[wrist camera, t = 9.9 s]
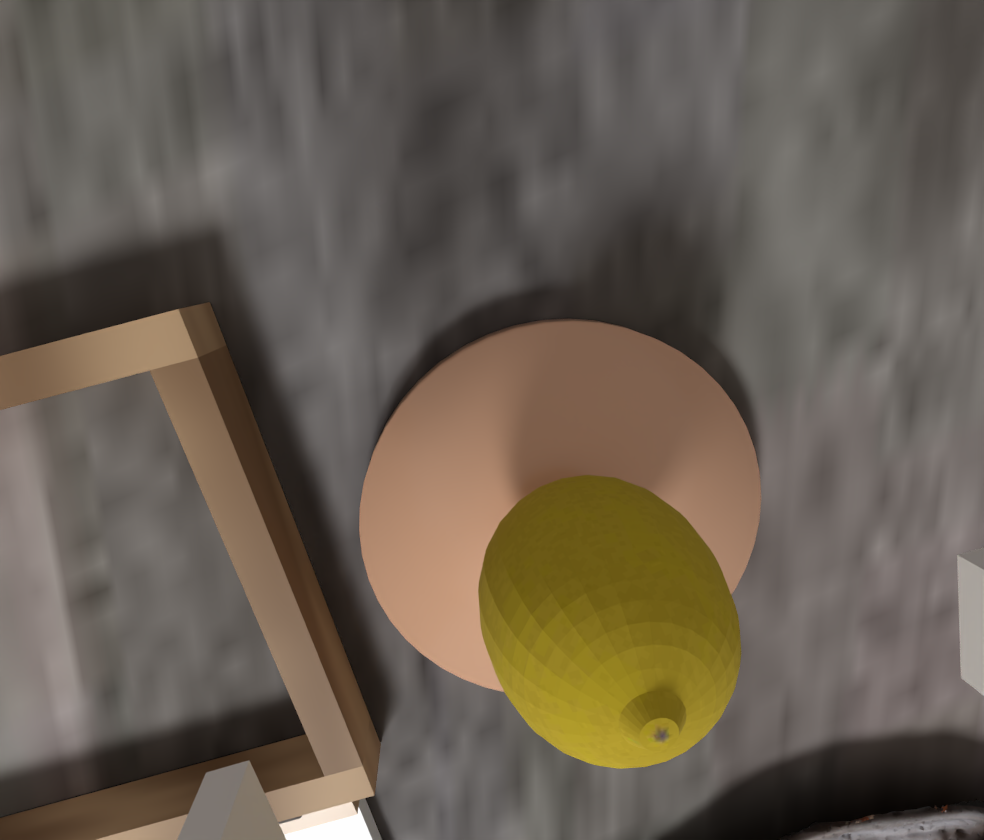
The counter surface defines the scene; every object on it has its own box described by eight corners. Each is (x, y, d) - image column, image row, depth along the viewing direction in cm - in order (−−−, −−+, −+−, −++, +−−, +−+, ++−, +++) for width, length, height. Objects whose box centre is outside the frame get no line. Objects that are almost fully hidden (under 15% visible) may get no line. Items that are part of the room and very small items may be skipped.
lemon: (682, 553, 18) (861, 775, 10) (523, 636, 18) (583, 910, 11) (607, 401, 17) (753, 529, 9) (434, 493, 17) (432, 695, 9)
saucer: (426, 714, 20) (425, 737, 19) (307, 379, 17) (300, 387, 16) (765, 621, 20) (781, 639, 19) (717, 271, 17) (734, 272, 16)
